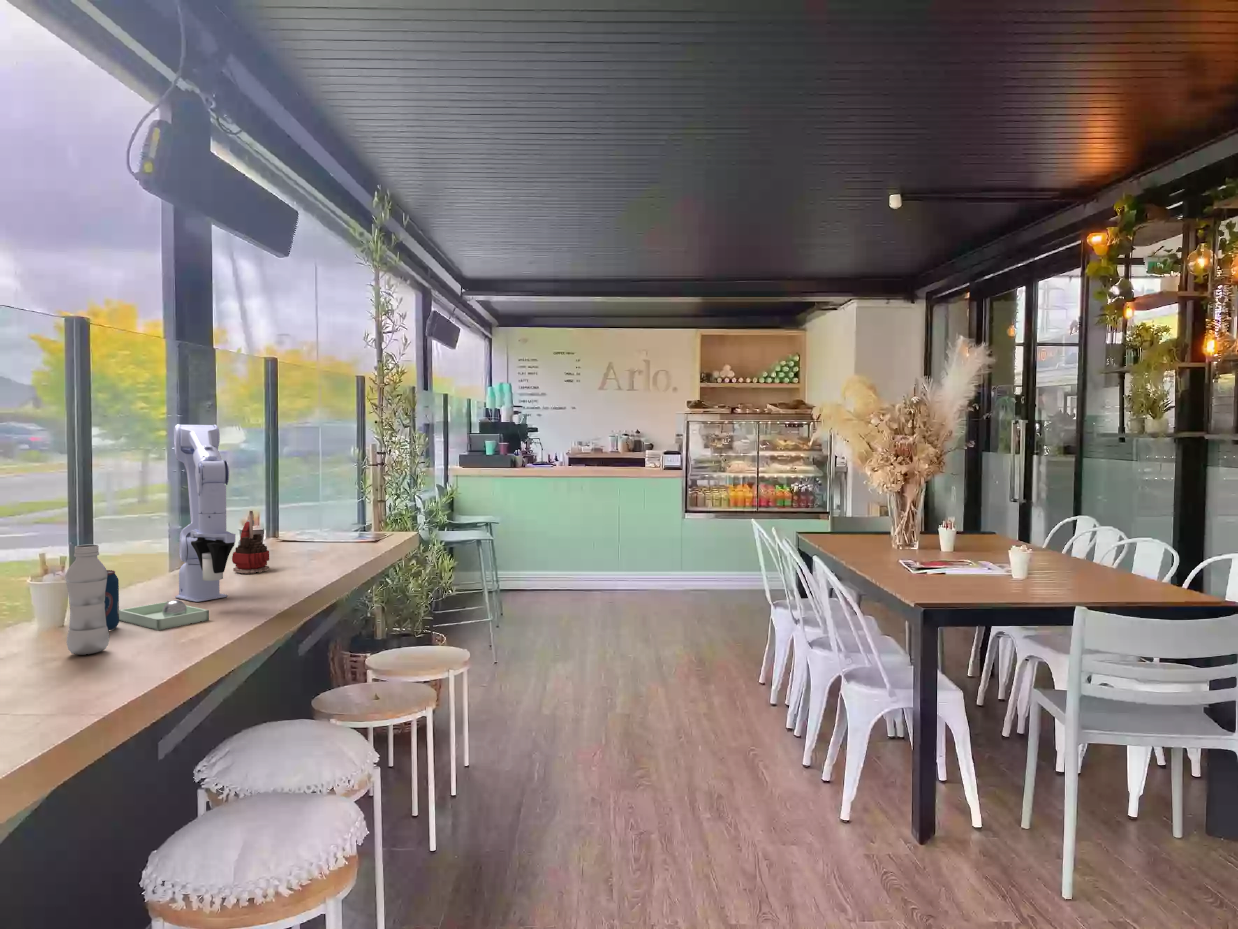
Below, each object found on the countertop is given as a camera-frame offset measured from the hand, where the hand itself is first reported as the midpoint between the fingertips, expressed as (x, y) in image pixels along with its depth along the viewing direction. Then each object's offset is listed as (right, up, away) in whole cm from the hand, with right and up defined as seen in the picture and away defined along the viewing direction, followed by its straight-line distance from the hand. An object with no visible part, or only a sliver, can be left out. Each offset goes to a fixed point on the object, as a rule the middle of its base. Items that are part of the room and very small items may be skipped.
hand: (212, 571), depth 186 cm
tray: (-6, -9, -10) cm, 15 cm away
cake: (-14, -7, +50) cm, 52 cm away
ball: (-2, -7, -13) cm, 15 cm away
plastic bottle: (-4, -10, -37) cm, 39 cm away
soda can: (-14, -10, -20) cm, 26 cm away
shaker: (0, -2, 0) cm, 2 cm away
